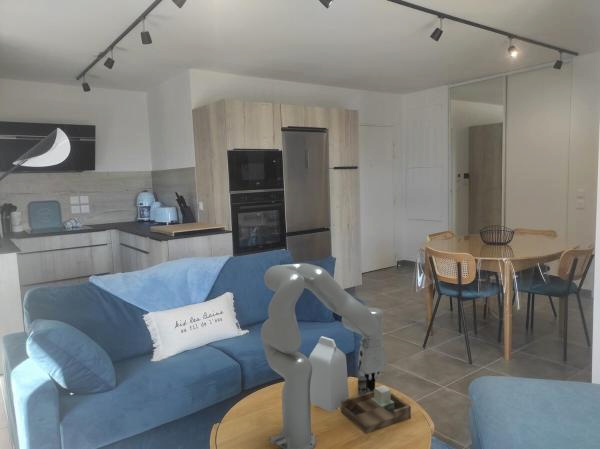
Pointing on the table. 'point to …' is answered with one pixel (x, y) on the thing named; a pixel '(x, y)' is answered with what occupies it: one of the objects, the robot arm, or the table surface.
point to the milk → (328, 375)
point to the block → (382, 393)
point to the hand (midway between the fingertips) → (370, 388)
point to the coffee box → (362, 384)
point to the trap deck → (374, 411)
